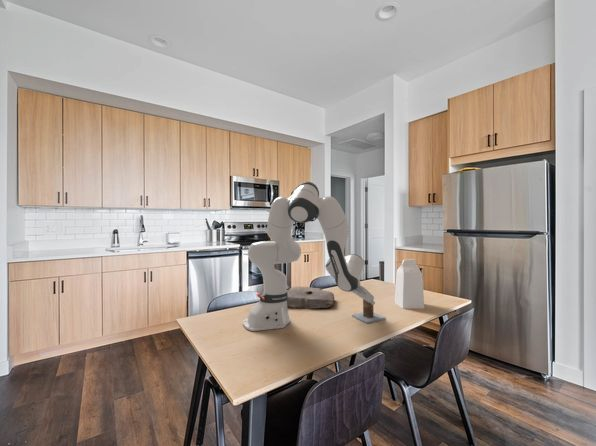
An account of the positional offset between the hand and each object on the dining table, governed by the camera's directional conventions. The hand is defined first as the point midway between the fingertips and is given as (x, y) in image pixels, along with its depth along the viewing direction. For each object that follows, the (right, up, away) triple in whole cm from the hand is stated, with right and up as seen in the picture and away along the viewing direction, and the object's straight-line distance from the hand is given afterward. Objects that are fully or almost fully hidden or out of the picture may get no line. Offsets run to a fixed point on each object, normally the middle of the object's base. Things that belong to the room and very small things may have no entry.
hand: (369, 301), depth 137 cm
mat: (-1, -8, 0) cm, 8 cm away
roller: (-1, -7, 0) cm, 7 cm away
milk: (+28, -8, +20) cm, 35 cm away
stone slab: (-30, -9, +29) cm, 42 cm away
